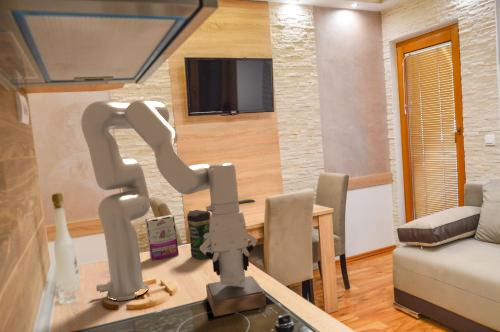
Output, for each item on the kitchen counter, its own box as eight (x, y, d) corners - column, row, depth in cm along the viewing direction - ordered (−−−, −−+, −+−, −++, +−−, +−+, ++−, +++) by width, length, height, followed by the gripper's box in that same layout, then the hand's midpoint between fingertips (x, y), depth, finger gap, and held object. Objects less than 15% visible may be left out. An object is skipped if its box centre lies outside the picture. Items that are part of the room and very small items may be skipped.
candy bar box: (176, 252, 167) (171, 214, 166) (179, 255, 163) (174, 215, 162) (149, 258, 163) (144, 218, 162) (151, 261, 158) (146, 220, 157)
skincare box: (246, 280, 111) (242, 238, 110) (238, 286, 107) (234, 242, 106) (227, 279, 114) (223, 237, 113) (219, 285, 110) (214, 242, 109)
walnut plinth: (214, 316, 102) (212, 301, 102) (207, 296, 116) (205, 283, 116) (266, 306, 105) (264, 291, 105) (253, 288, 119) (252, 275, 119)
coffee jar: (188, 257, 158) (183, 211, 157) (204, 252, 164) (199, 207, 162) (202, 261, 151) (196, 213, 150) (218, 255, 156) (213, 209, 155)
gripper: (195, 215, 103) (202, 281, 104) (259, 206, 107) (265, 270, 108) (192, 210, 110) (198, 272, 112) (252, 202, 114) (258, 262, 116)
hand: (231, 271), depth 110 cm, fingers closed on skincare box, 7 cm apart
